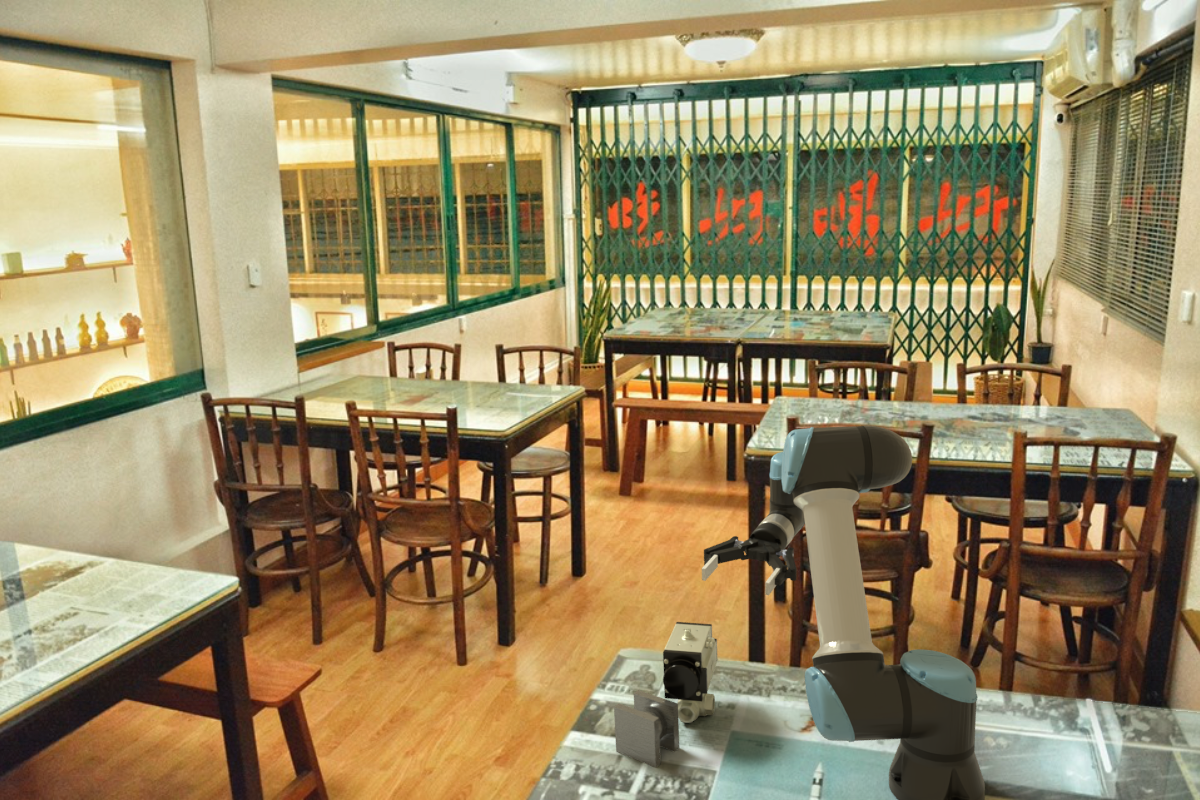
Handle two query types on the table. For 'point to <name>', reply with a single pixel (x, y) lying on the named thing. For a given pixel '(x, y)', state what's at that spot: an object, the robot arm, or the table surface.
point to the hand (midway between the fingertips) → (734, 581)
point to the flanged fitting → (646, 728)
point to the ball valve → (690, 669)
